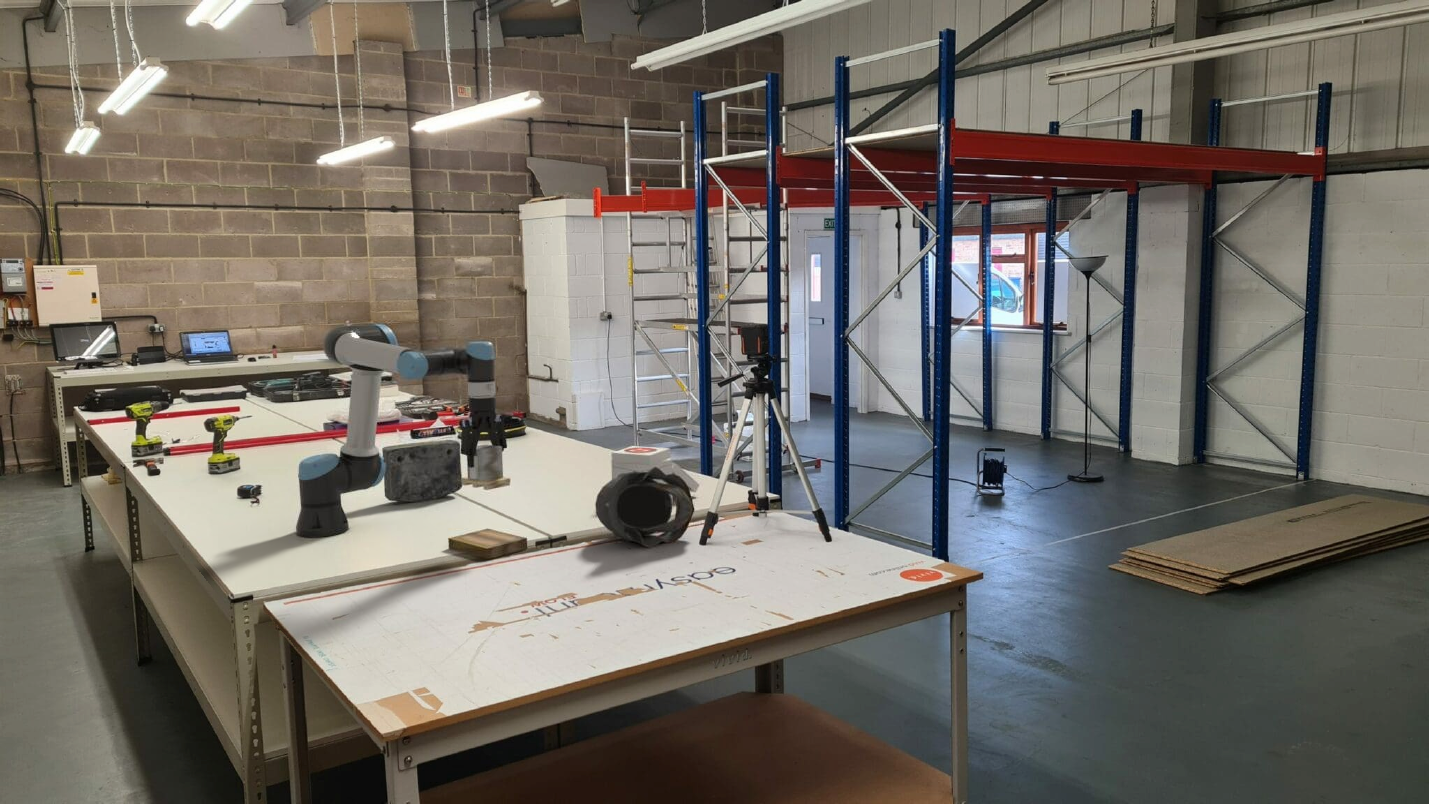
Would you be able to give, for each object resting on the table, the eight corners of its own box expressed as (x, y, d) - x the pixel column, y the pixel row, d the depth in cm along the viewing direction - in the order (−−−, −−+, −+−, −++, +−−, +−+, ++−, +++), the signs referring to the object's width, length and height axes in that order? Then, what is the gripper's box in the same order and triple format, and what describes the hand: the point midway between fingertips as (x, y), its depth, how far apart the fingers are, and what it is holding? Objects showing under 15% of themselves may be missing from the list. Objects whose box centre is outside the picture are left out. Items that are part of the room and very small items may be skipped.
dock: (487, 559, 271) (487, 548, 271) (448, 548, 283) (448, 538, 282) (527, 548, 282) (527, 537, 282) (488, 538, 293) (487, 528, 293)
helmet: (708, 470, 289) (665, 470, 310) (614, 462, 272) (574, 463, 293) (704, 550, 287) (660, 545, 307) (608, 547, 269) (569, 542, 290)
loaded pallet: (487, 490, 273) (486, 451, 272) (461, 484, 281) (459, 446, 279) (510, 485, 279) (508, 447, 278) (484, 480, 287) (482, 443, 286)
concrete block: (455, 492, 358) (452, 438, 355) (464, 497, 350) (461, 441, 348) (381, 502, 342) (378, 446, 340) (388, 507, 335) (385, 449, 333)
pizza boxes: (703, 496, 348) (702, 446, 345) (639, 510, 327) (638, 457, 324) (667, 488, 361) (666, 440, 359) (603, 502, 340) (601, 450, 338)
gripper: (460, 401, 267) (464, 483, 270) (518, 393, 282) (521, 472, 285) (444, 399, 272) (447, 480, 274) (501, 392, 287) (504, 469, 290)
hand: (485, 476), depth 280 cm, fingers closed on loaded pallet, 7 cm apart
